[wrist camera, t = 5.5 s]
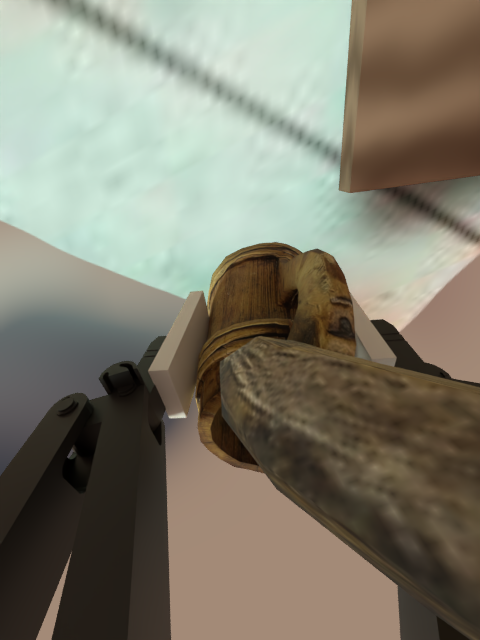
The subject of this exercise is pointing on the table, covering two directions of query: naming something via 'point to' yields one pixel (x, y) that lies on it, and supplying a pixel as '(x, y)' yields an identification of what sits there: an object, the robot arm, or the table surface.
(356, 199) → the table surface
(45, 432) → the robot arm
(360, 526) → the wooden mug
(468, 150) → the walnut stand
